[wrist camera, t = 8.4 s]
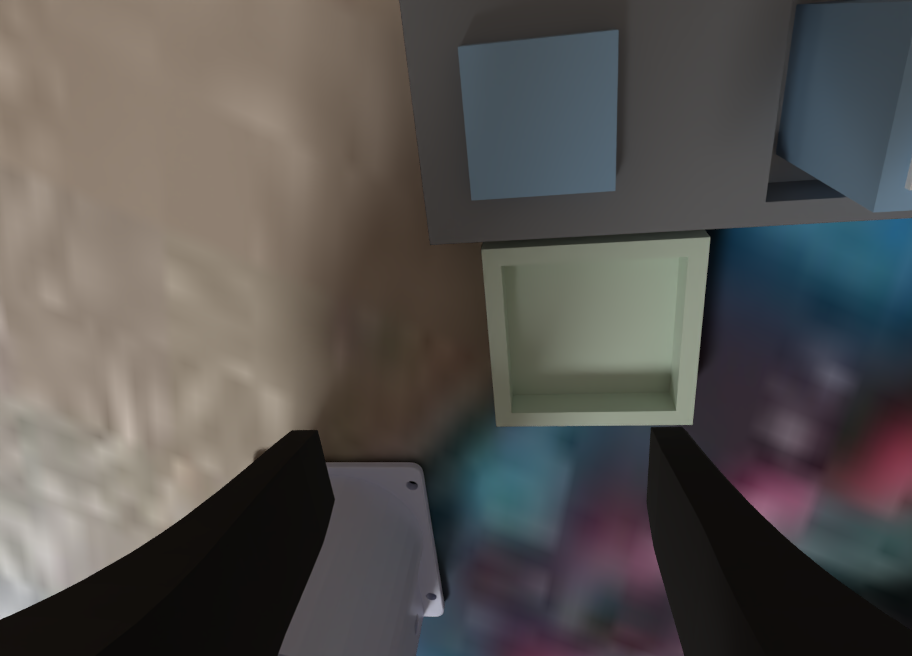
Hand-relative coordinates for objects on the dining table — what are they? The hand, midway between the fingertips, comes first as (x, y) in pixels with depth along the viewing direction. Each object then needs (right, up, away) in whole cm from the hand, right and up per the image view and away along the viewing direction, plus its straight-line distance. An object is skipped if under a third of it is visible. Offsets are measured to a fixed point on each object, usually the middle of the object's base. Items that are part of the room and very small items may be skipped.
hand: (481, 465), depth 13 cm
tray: (+4, +3, +9) cm, 10 cm away
